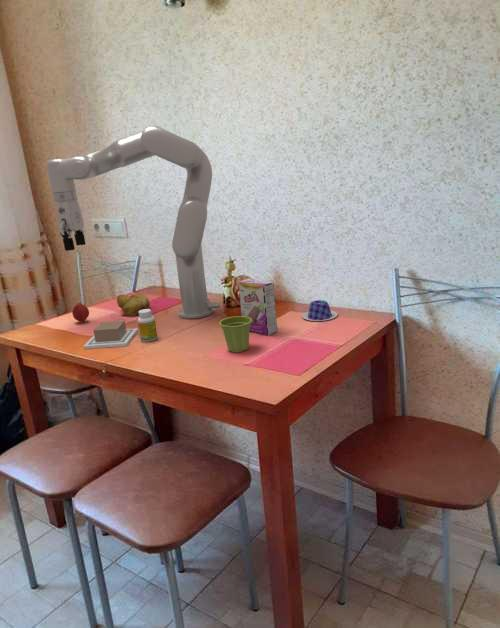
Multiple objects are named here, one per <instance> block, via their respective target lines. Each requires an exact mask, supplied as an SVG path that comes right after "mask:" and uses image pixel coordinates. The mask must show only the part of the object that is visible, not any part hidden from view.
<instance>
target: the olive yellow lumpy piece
mask: <svg viewBox="0 0 500 628" xmlns="http://www.w3.org/2000/svg"><path fill="white" fill-rule="evenodd" d="M116 303H117V306H118V307H119V308H120V309H121V312H122V314H124V315H125V316H136V315H139V311H140V310H143V309H150V305H151V302H150V300H149V297H148V296H147V295H145V294H143V293H133V294H132V295H128V294H127V295H126V294H120V295H118V296H117V298H116Z"/></svg>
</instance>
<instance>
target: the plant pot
mask: <svg viewBox="0 0 500 628" xmlns="http://www.w3.org/2000/svg"><path fill="white" fill-rule="evenodd" d="M251 322H252V319H251V318H249V317H245V316H242V315H241V316H240V315H239V316H238V315H237V316H229V317H226V318H223V319H221V320H220V321H219V326H220V327H221V330H223V335H224V338H225V343H226V346H227V350H228V351H229V352H230V351H231V352H232V353H242V352H244V351H246V350H247V351H248V349H249V348H250V347H249V346H250V324H251Z"/></svg>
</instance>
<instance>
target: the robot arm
mask: <svg viewBox="0 0 500 628" xmlns="http://www.w3.org/2000/svg"><path fill="white" fill-rule="evenodd" d="M154 156H156V157H158V158H160V159H162V160H165V161H167V162H169V163H172V164H174V165H176V166H179V167H181V168H184V169H186V182H185V186H184V191H183V192H184V193H183V196H182V200H181V203H180V205H179V208H178V212H177V217H176V222H175V228H174V231H173V236H172V237H173V238H172V243H171V245H172V246H171V247H172V250H173V253H174V254H175V262H176V269H177V279H178V286H179V292H180V293H179V294H180V299H181V300H180V301H181V307H182V308H181V310H180V311H179V312H178V317H180V318H182V319H186V320H189V319H190V320H193V319H201V318H205V317H208V316H210V315H212V314H213V313H214V309H221V302H218V301H214V302H212V301H210V300H211V299H210V298H208V291H207V283H206V281H207V280H206V275H205V273H206V272H205V264H204V257H203V247H202V241H203V239H204V238H203V237H204V233H205V229H206V225H207V219H208V203H209V198H210V193H211V187H212V180H213V170H212V165H211V161H210V159H209V156H207V154H206V153H205V151H203V149H202V148H200V147H199V146H198V145H197V143H195V142H193V141H192V140H190V139H186V138H184V137H182V136H179V135H178V134H175V133H173V132H170V131H169V130H166V129H165V128H162V127H160V126H158V125H149V126H147V127H145V128H144V129H143V130H140V131H138V132H136V133H133V134H131V135H127V136H124V137H122V138H119V139H116V140H114V141H113V142H111V144H110V145H108V146H106V147H104V148H101V149H100V150H98V151H95V152H92V153H89V154H85V155H77V156H72V157H68V158H55V159H49V160H47V161H46V164H45V165H46V171H47V175H48V179H49V183H50V188H51V192H52V193H51V194H52V198H53V202H54V203H55V208H56V215H57V221H58V228H57V229H58V231H59V233H60V236H61V239H62V242H63V246H64V250H65V251H66V252H67V251H74V250H75V244H74V240H75V243H76V246H85V245H86V238H85V233H84V232H85V231H84V228H85V222H84V219H83V214H82V210H81V206H80V204H79V202H78V201H79V200H78V196H77V195H78V194H77V189H76V185H75V180H82V181H83V180H88V179H93V178H96V177H98V176H100V175H103V174H107V173H108V172H111V171H114V170H116V169H119V168H124V167H128V166H130V165H132V164H136V163H138V162H140V161H144V160H145V159H149V158H152V157H154ZM72 232H74V233H73V234H74V240H73V237H72Z"/></svg>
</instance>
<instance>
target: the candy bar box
mask: <svg viewBox="0 0 500 628" xmlns="http://www.w3.org/2000/svg"><path fill="white" fill-rule="evenodd" d="M274 283H275V282H274V281H268V280H261V279H260V280H259V279H254V278H245V279H243V280H242V279H241V280H239V281H238V282H237V285H238V293H239V294H238V295H239V304H240V305H239V306H240V313H241V316H245V317H249V318H251V319H252V322H251V324H250V331H249V333H255V334H259V335H263V336H267V337H269V336H271V335H273V334H275V333H277V332H278V321H277V320H278V319H277V311H276V310H277V309H276V296H275V284H274Z"/></svg>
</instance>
